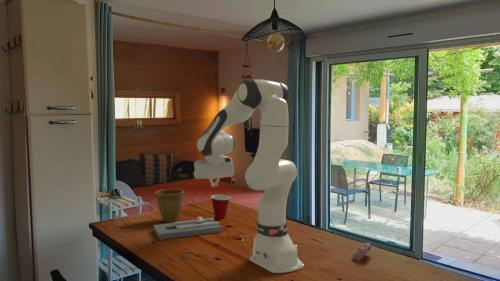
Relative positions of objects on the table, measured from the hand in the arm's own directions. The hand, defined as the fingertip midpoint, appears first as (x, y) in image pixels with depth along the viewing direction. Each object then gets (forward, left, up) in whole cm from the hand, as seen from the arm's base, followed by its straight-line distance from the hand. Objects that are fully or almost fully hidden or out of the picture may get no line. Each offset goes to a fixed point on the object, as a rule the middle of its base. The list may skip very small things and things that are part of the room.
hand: (214, 186), depth 188 cm
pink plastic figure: (-62, -42, -21) cm, 77 cm away
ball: (0, +8, -16) cm, 18 cm away
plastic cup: (+16, -9, -21) cm, 28 cm away
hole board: (0, +14, -21) cm, 25 cm away
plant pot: (+21, +18, -21) cm, 35 cm away
